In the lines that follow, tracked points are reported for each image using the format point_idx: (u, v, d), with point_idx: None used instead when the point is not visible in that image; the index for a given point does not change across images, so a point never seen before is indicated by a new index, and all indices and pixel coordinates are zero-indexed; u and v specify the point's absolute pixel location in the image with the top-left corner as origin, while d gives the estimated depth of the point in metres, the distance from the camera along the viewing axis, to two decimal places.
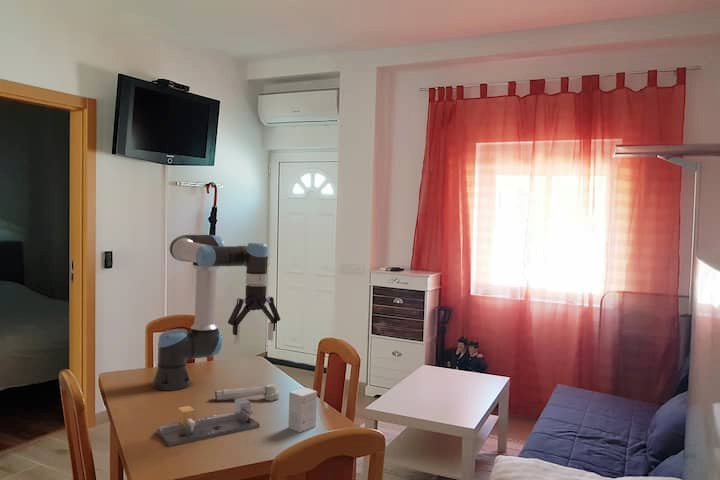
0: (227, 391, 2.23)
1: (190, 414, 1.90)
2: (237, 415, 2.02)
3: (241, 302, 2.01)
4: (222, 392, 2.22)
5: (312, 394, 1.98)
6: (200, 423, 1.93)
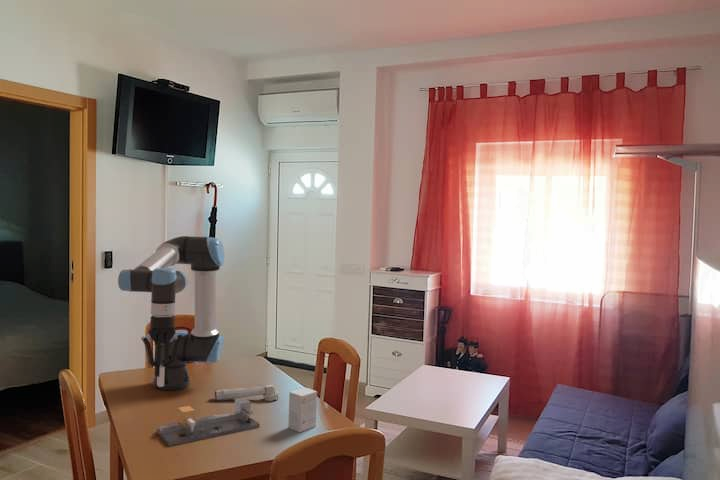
0: (227, 391, 2.23)
1: (190, 414, 1.90)
2: (237, 415, 2.02)
3: (146, 341, 1.80)
4: (222, 392, 2.22)
5: (312, 394, 1.98)
6: (200, 423, 1.93)
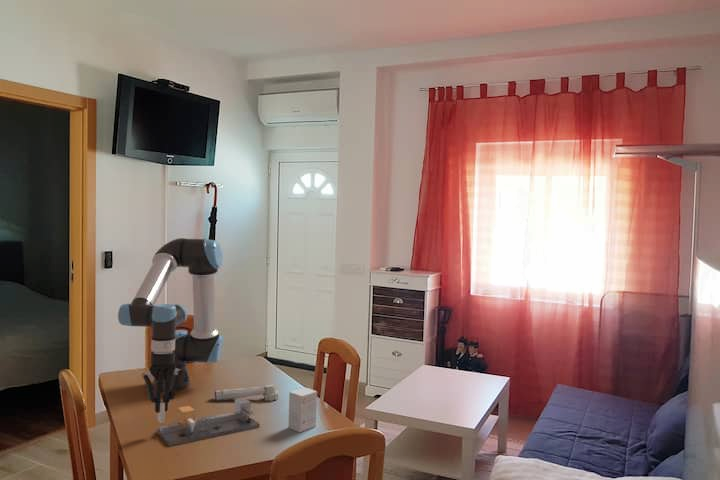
0: (226, 391, 2.23)
1: (190, 414, 1.90)
2: (237, 415, 2.02)
3: (147, 378, 1.81)
4: (221, 392, 2.22)
5: (312, 394, 1.98)
6: (200, 423, 1.93)
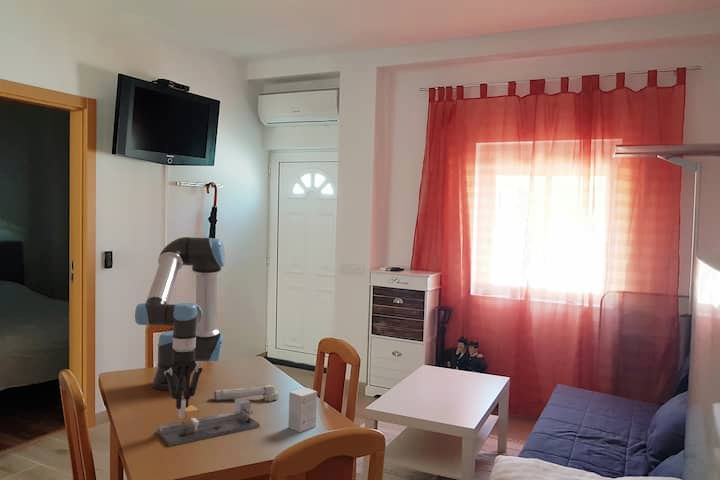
0: (226, 391, 2.23)
1: (194, 413, 1.90)
2: (237, 415, 2.02)
3: (168, 375, 1.86)
4: (221, 392, 2.22)
5: (312, 394, 1.98)
6: (200, 423, 1.93)
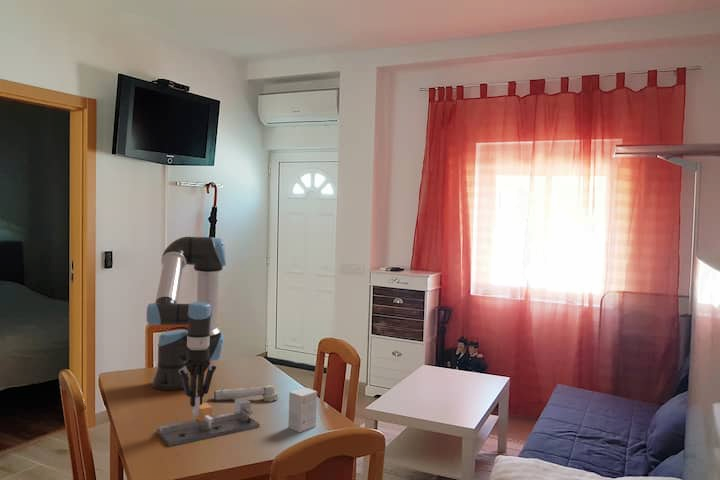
0: (226, 391, 2.23)
1: (208, 411, 1.93)
2: (237, 415, 2.02)
3: (183, 373, 1.88)
4: (221, 392, 2.23)
5: (312, 394, 1.98)
6: (200, 423, 1.93)
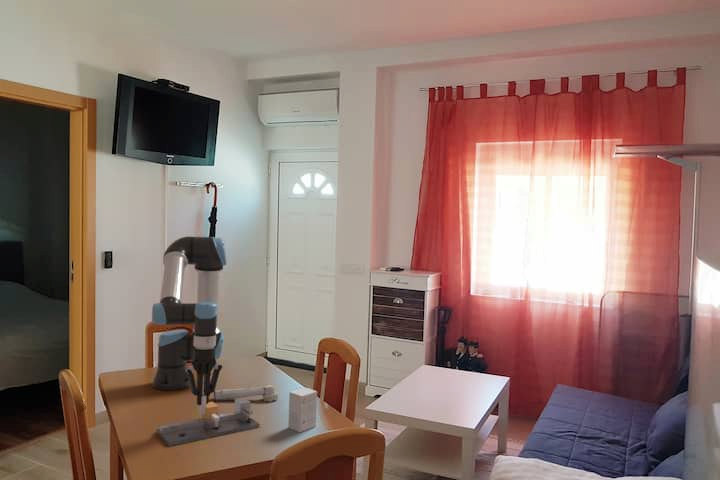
0: (226, 391, 2.23)
1: (214, 410, 1.95)
2: (237, 415, 2.02)
3: (190, 372, 1.90)
4: (221, 392, 2.23)
5: (312, 394, 1.98)
6: (200, 423, 1.93)
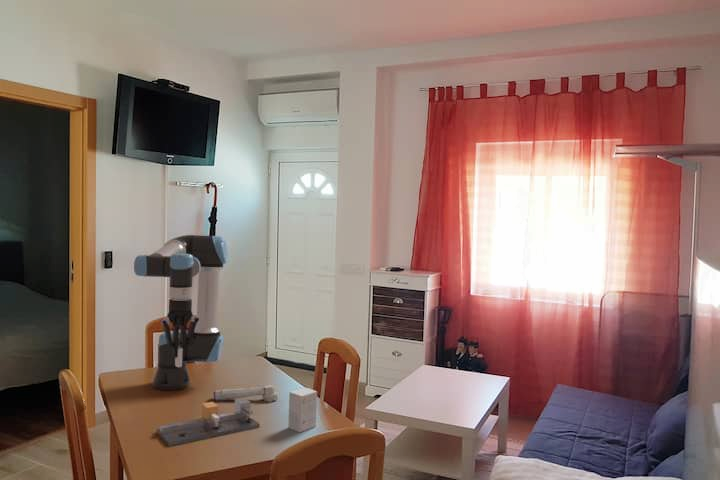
0: (225, 391, 2.23)
1: (214, 410, 1.95)
2: (237, 415, 2.02)
3: (165, 323, 1.88)
4: (220, 392, 2.23)
5: (312, 394, 1.98)
6: (200, 423, 1.93)
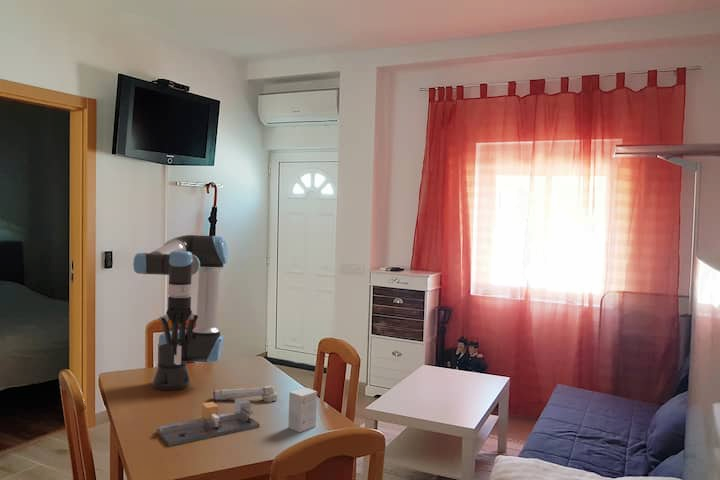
0: (225, 391, 2.23)
1: (214, 410, 1.95)
2: (237, 415, 2.02)
3: (164, 320, 1.88)
4: (220, 392, 2.23)
5: (312, 394, 1.98)
6: (200, 423, 1.93)
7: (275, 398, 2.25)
